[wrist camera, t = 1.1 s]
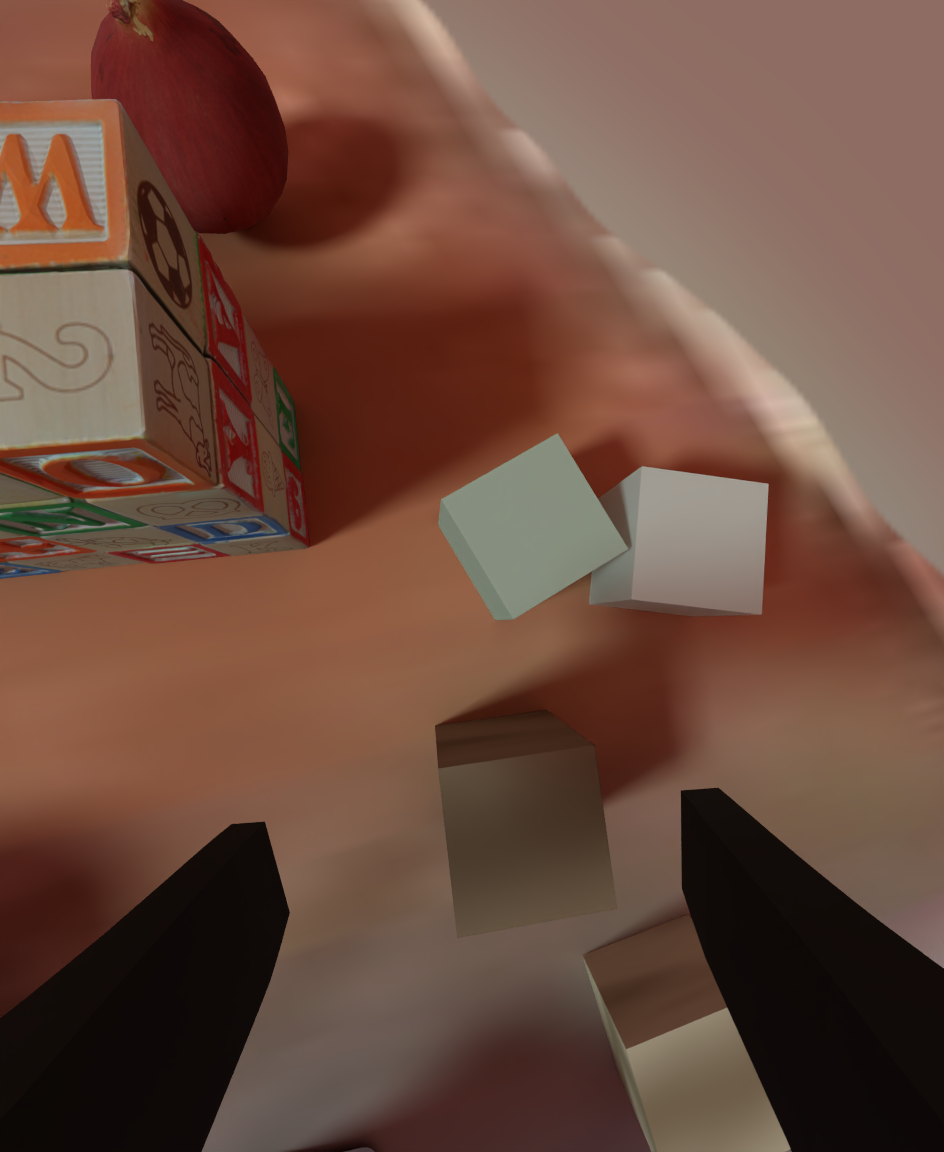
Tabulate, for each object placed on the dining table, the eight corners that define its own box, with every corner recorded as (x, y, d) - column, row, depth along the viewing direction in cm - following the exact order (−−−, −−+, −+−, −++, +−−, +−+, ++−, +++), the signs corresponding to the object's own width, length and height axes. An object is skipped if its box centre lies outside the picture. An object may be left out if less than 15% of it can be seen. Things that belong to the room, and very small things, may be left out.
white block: (692, 616, 22) (761, 614, 17) (588, 604, 21) (631, 599, 17) (699, 512, 22) (768, 483, 18) (597, 498, 22) (642, 466, 17)
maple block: (723, 1026, 20) (807, 1142, 16) (617, 1071, 20) (672, 1203, 15) (686, 913, 20) (759, 994, 16) (581, 953, 20) (626, 1049, 15)
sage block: (586, 564, 21) (628, 548, 17) (494, 620, 21) (513, 619, 16) (530, 472, 22) (557, 433, 17) (438, 525, 21) (441, 499, 17)
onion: (167, 147, 21) (13, -134, 13) (309, 156, 22) (241, -110, 14) (162, 279, 21) (-1, 69, 13) (307, 284, 21) (236, 84, 13)
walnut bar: (561, 824, 20) (617, 908, 14) (448, 843, 20) (457, 937, 14) (546, 709, 21) (594, 744, 15) (434, 725, 20) (438, 768, 14)
